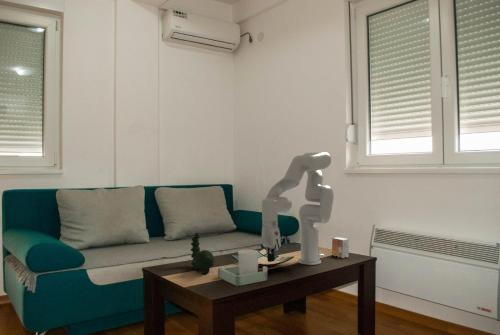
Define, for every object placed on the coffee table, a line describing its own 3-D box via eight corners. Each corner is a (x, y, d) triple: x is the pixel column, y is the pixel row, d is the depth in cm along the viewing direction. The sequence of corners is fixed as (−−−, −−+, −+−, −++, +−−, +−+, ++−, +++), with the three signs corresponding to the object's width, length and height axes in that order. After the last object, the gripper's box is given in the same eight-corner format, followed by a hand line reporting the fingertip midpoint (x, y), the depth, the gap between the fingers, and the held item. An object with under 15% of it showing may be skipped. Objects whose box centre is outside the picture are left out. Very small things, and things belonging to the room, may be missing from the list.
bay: (246, 271, 192) (246, 259, 192) (267, 280, 178) (267, 267, 178) (218, 276, 183) (218, 264, 183) (237, 286, 169) (237, 272, 169)
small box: (331, 255, 228) (331, 237, 228) (338, 254, 231) (338, 236, 231) (342, 258, 221) (342, 239, 221) (348, 257, 225) (348, 238, 225)
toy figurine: (186, 269, 202) (199, 277, 180) (185, 232, 204) (199, 236, 181) (203, 267, 206) (219, 275, 183) (203, 231, 208) (218, 234, 185)
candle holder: (262, 278, 181) (262, 252, 181) (244, 281, 176) (244, 254, 176) (252, 273, 189) (252, 248, 189) (234, 275, 185) (234, 250, 185)
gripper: (285, 225, 185) (286, 263, 186) (267, 221, 197) (268, 256, 198) (273, 227, 181) (274, 266, 181) (255, 222, 193) (256, 259, 194)
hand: (271, 261), depth 190 cm, fingers closed
